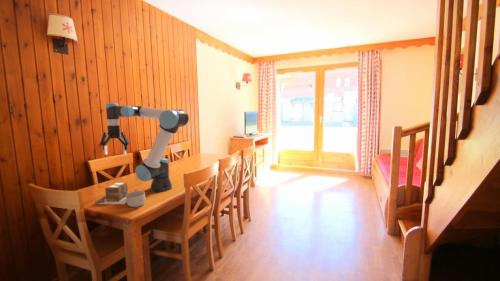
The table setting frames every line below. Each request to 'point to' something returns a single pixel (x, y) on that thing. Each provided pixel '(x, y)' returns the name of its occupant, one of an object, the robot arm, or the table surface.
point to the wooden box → (116, 192)
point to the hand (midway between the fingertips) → (115, 154)
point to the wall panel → (103, 201)
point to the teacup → (135, 198)
